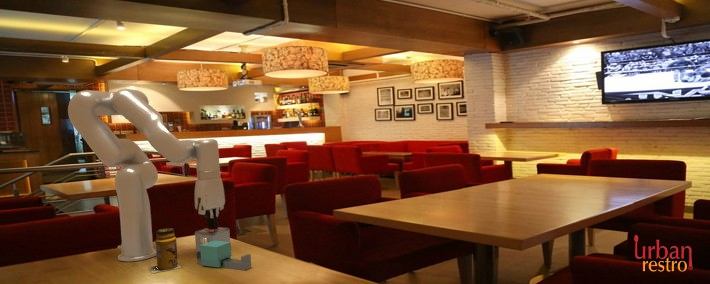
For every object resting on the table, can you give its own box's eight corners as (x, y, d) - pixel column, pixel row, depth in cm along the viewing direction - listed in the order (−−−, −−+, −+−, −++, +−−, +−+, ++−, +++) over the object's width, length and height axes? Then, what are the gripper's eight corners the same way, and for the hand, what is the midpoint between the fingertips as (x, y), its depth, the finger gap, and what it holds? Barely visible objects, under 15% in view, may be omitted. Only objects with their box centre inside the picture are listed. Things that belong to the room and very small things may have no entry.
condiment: (181, 267, 150) (179, 229, 149) (152, 273, 145) (149, 234, 145) (176, 262, 156) (173, 226, 156) (148, 268, 151) (145, 230, 151)
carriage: (201, 265, 150) (200, 245, 150) (215, 260, 155) (214, 240, 155) (218, 267, 147) (216, 247, 147) (231, 262, 152) (230, 242, 152)
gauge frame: (195, 255, 163) (193, 232, 163) (213, 248, 171) (212, 226, 170) (213, 257, 159) (211, 233, 159) (230, 250, 167) (229, 228, 166)
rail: (197, 264, 153) (196, 251, 153) (204, 261, 156) (203, 249, 155) (244, 270, 144) (243, 257, 144) (251, 267, 147) (250, 254, 146)
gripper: (216, 172, 172) (220, 223, 173) (183, 178, 159) (188, 233, 160) (232, 172, 169) (236, 224, 170) (200, 178, 156) (204, 234, 156)
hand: (212, 228), depth 165 cm, fingers closed
